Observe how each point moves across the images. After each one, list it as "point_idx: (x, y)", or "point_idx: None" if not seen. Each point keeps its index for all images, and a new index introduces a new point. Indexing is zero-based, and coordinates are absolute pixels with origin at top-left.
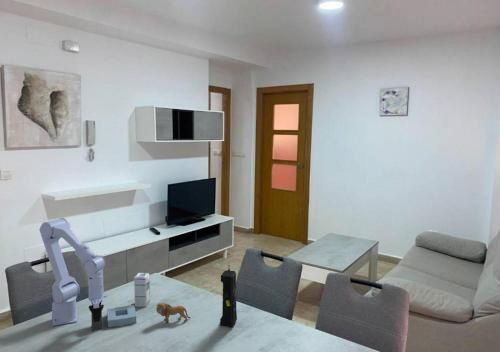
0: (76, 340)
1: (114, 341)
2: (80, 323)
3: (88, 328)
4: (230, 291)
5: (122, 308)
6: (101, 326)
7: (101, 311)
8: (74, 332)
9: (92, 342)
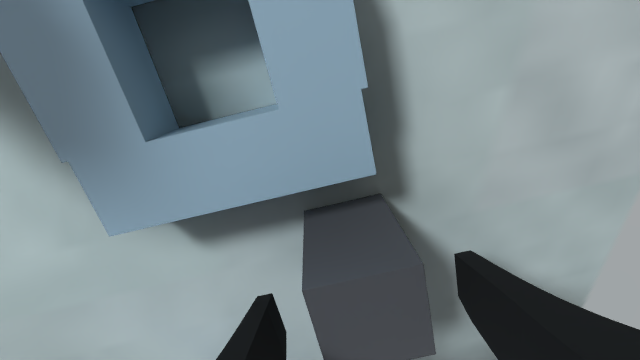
0: None
1: (621, 43)
2: None
3: None
4: None
5: (65, 62)
6: (386, 207)
7: (623, 324)
8: None
9: (566, 213)
